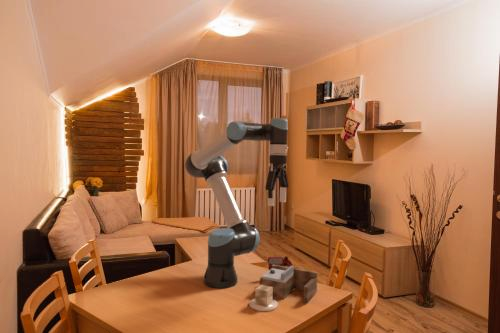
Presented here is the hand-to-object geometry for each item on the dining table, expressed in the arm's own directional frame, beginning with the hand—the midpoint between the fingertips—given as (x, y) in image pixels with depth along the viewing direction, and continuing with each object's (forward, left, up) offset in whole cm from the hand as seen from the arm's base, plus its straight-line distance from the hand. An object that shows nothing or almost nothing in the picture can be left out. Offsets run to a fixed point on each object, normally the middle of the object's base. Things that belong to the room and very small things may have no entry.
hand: (277, 203), depth 158 cm
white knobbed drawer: (+3, -3, -30) cm, 30 cm away
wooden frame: (+7, -2, -37) cm, 37 cm away
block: (+3, -19, -36) cm, 41 cm away
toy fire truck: (-2, +12, -37) cm, 39 cm away
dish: (+3, -19, -37) cm, 41 cm away
